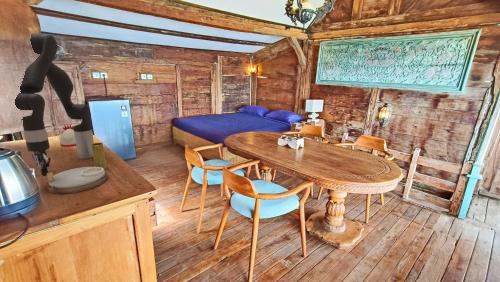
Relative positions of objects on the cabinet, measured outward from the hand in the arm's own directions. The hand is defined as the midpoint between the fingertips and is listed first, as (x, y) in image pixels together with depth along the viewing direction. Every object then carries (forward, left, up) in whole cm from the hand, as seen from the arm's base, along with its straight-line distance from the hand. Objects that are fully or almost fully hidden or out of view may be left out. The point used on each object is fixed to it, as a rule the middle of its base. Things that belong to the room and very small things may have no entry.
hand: (45, 175), depth 108 cm
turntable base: (+8, +10, -5) cm, 14 cm away
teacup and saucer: (-86, +43, -6) cm, 96 cm away
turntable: (+8, +10, -3) cm, 13 cm away
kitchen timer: (-66, +39, -6) cm, 77 cm away
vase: (-1, +25, -6) cm, 25 cm away
